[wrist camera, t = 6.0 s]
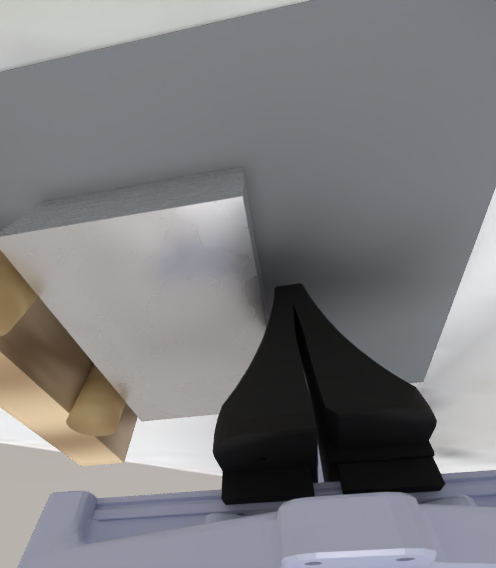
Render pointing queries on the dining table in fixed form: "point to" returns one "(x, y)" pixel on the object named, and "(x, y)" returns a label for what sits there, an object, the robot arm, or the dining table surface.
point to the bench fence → (56, 380)
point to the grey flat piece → (152, 286)
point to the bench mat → (293, 147)
